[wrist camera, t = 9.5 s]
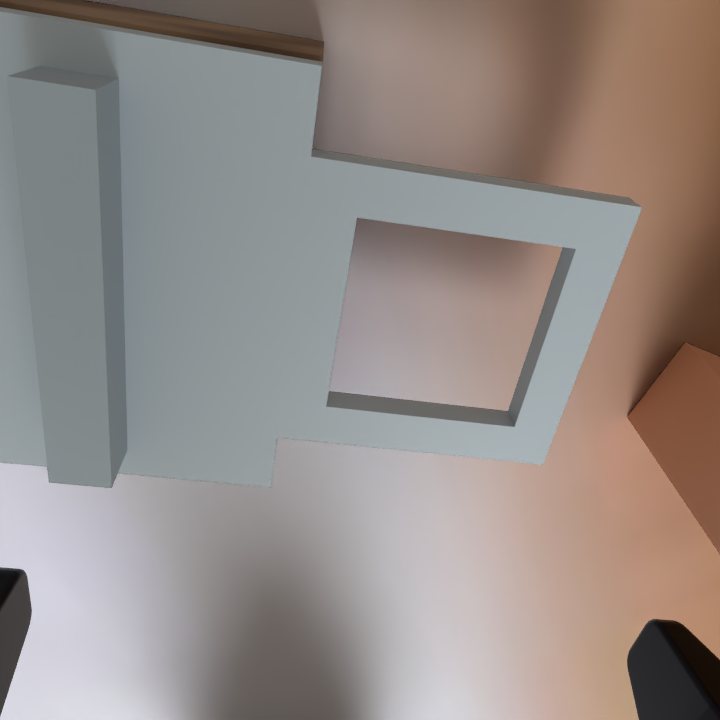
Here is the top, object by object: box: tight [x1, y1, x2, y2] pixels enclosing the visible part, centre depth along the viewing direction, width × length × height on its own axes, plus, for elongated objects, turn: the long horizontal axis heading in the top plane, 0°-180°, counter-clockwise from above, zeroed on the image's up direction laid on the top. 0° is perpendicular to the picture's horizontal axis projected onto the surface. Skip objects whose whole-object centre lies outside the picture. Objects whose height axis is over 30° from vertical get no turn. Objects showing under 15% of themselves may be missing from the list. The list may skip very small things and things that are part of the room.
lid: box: [0, 7, 642, 488], centre depth 16 cm, size 24×12×2 cm, turn 81°
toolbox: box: [0, 0, 324, 62], centre depth 18 cm, size 16×12×4 cm
